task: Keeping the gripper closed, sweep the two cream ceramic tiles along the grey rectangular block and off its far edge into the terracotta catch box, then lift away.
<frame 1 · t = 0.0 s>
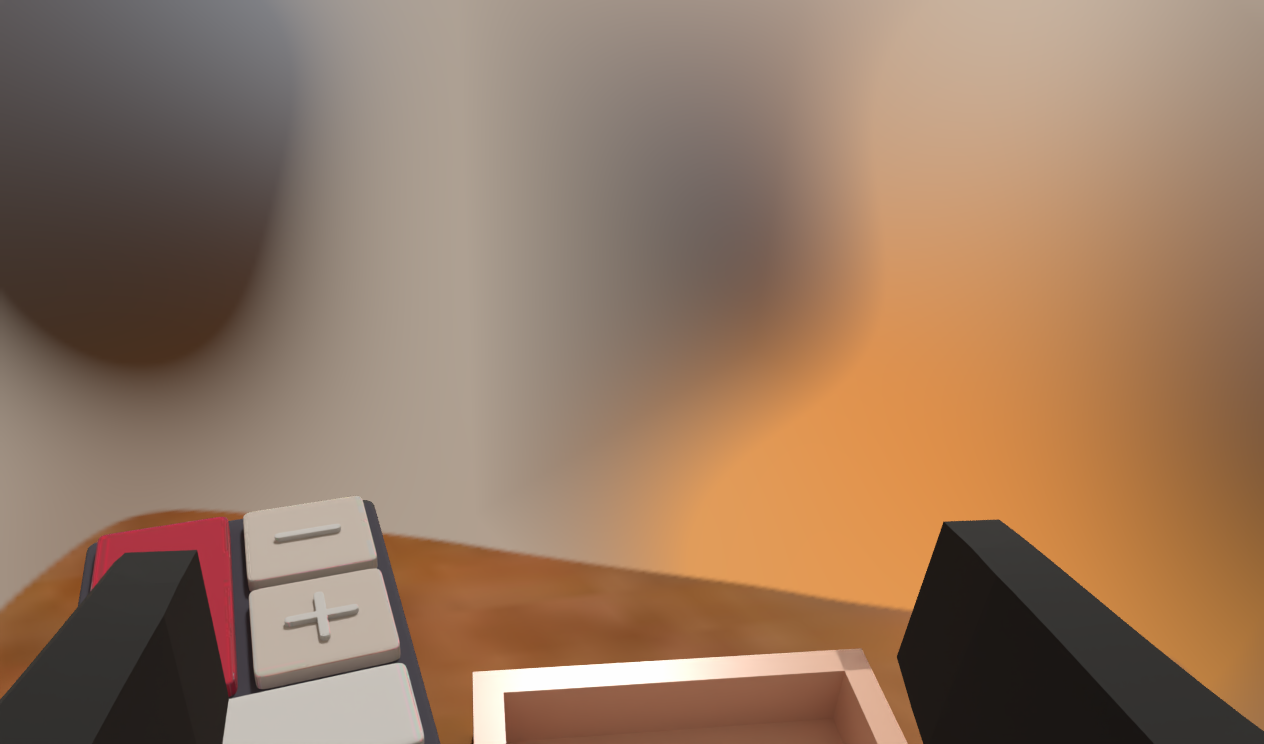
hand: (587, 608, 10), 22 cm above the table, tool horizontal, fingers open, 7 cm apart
calculator: (255, 709, 36), on the table
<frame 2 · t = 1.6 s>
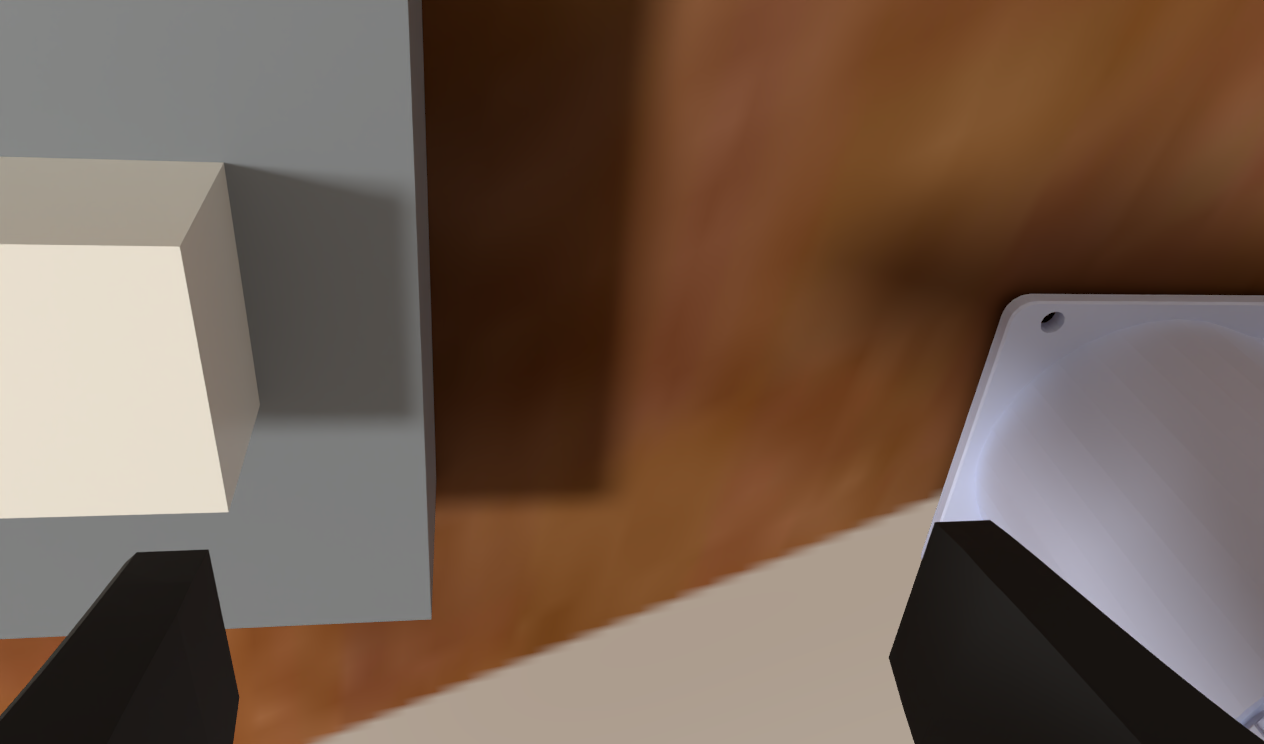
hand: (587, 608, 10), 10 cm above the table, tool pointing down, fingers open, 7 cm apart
tile a: (95, 292, 14), point 4 cm above the table, touching grey rectangular block
grey rectangular block: (94, 178, 17), on the table
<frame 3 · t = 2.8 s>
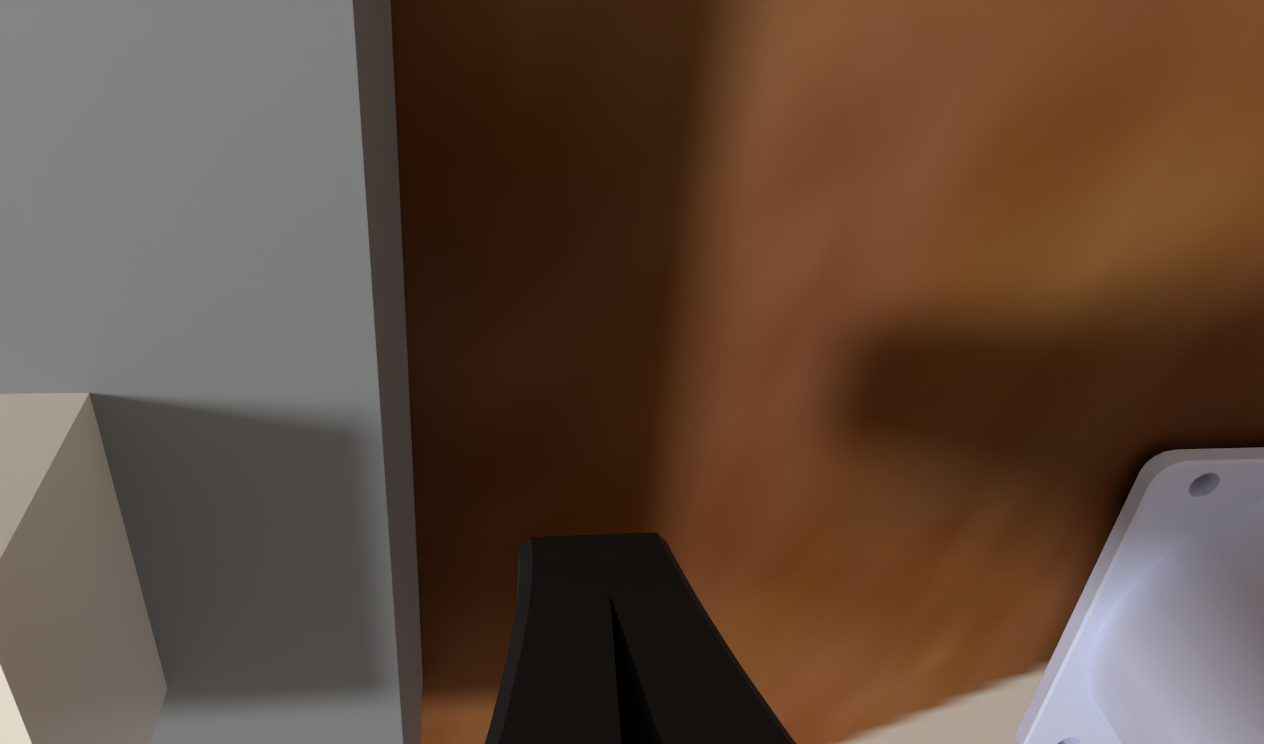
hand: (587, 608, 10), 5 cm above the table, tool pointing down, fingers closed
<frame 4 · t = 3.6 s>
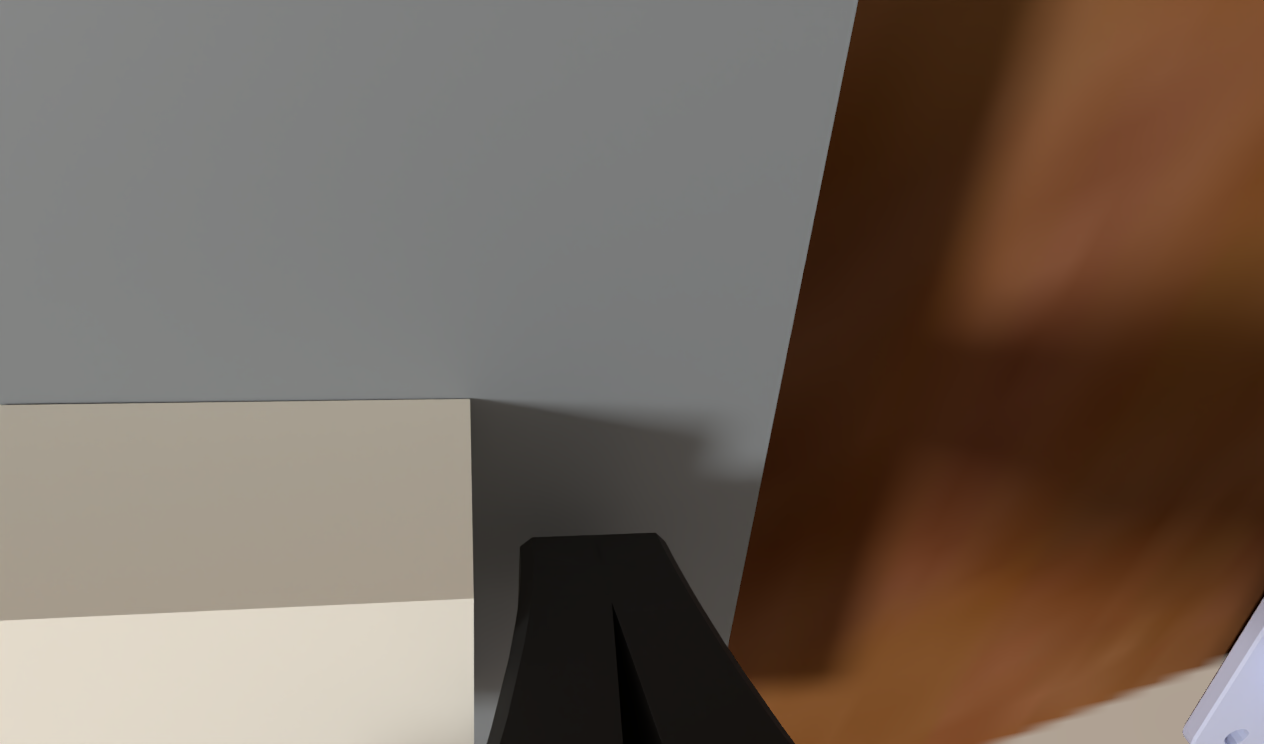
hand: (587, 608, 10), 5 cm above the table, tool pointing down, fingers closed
tile a: (270, 563, 10), point 4 cm above the table, touching gripper, tile b
grey rectangular block: (266, 349, 13), on the table
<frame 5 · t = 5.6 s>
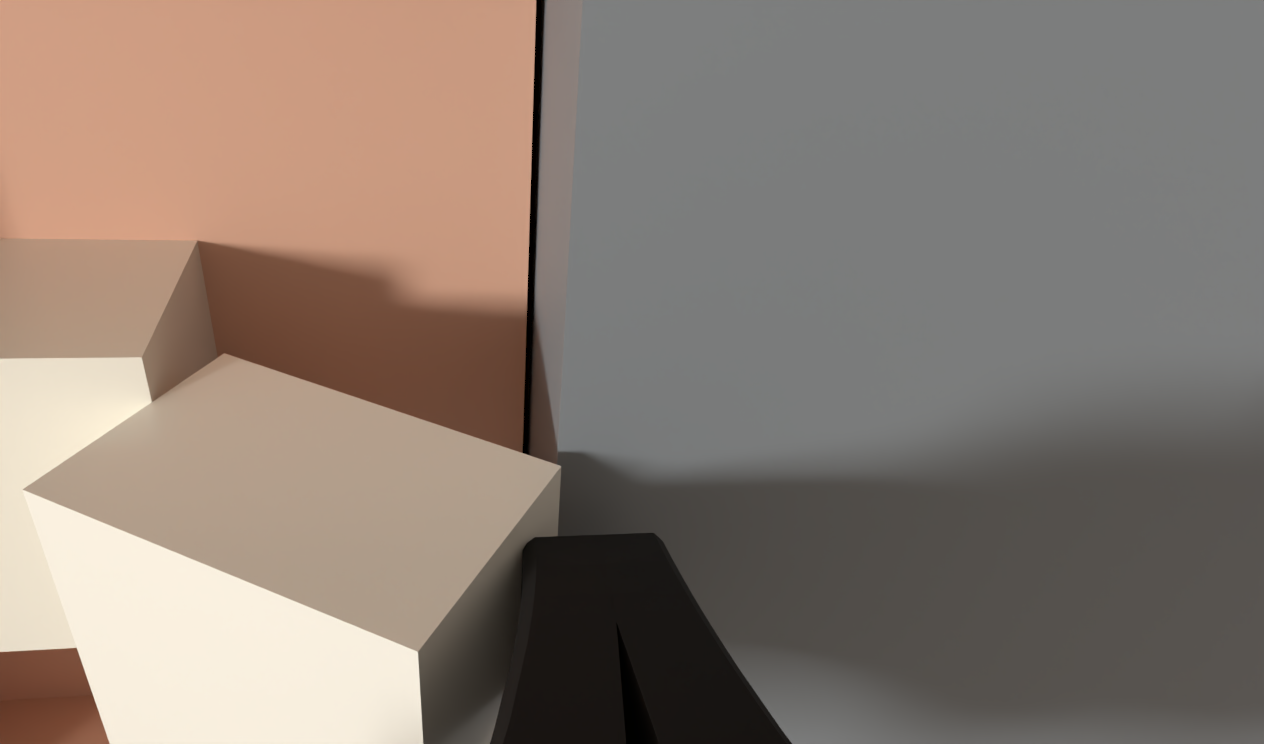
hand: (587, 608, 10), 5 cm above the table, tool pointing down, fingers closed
tile a: (393, 549, 11), point 3 cm above the table, tilted 31°, touching gripper, tile b
catch box: (169, 349, 13), on the table
grey rectangular block: (912, 345, 15), on the table
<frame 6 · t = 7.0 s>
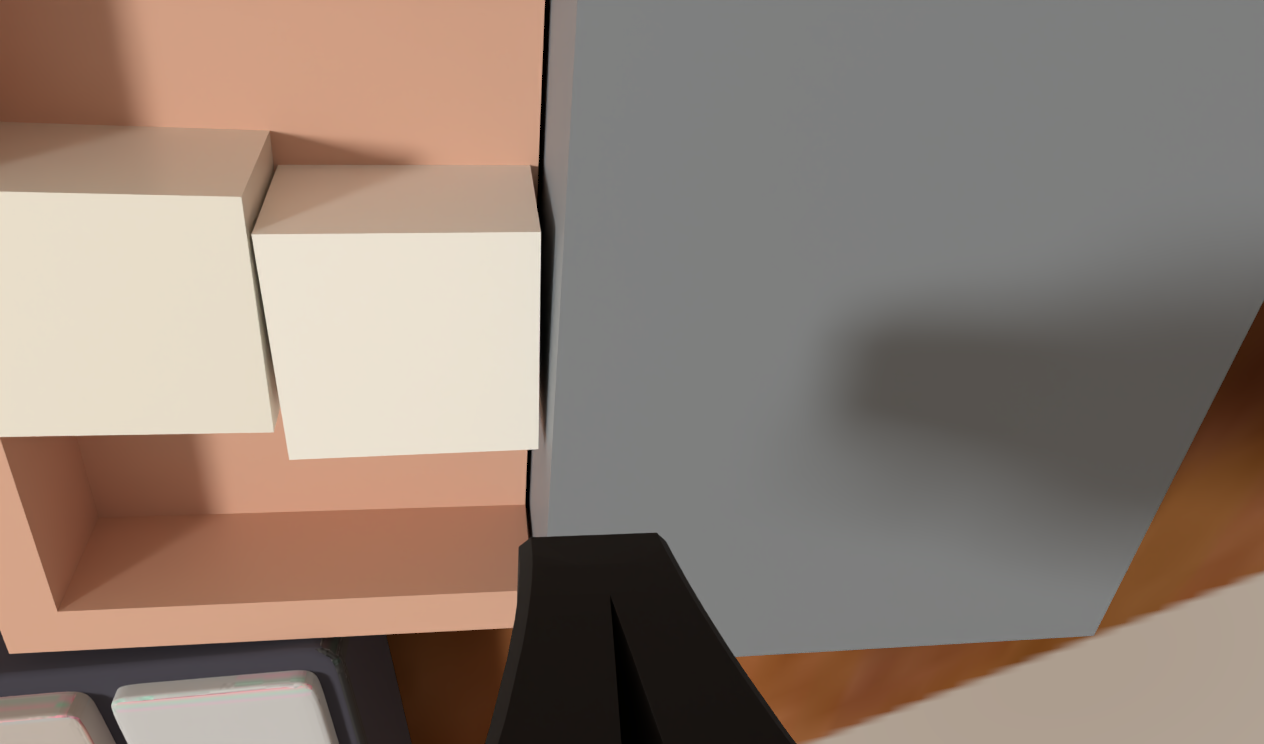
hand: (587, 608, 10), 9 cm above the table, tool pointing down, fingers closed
tile a: (414, 273, 17), point 1 cm above the table, touching catch box
tile b: (111, 323, 14), point 3 cm above the table, tilted 180°, touching catch box
catch box: (262, 223, 17), on the table
calculator: (79, 712, 24), on the table
grey rectangular block: (838, 233, 19), on the table
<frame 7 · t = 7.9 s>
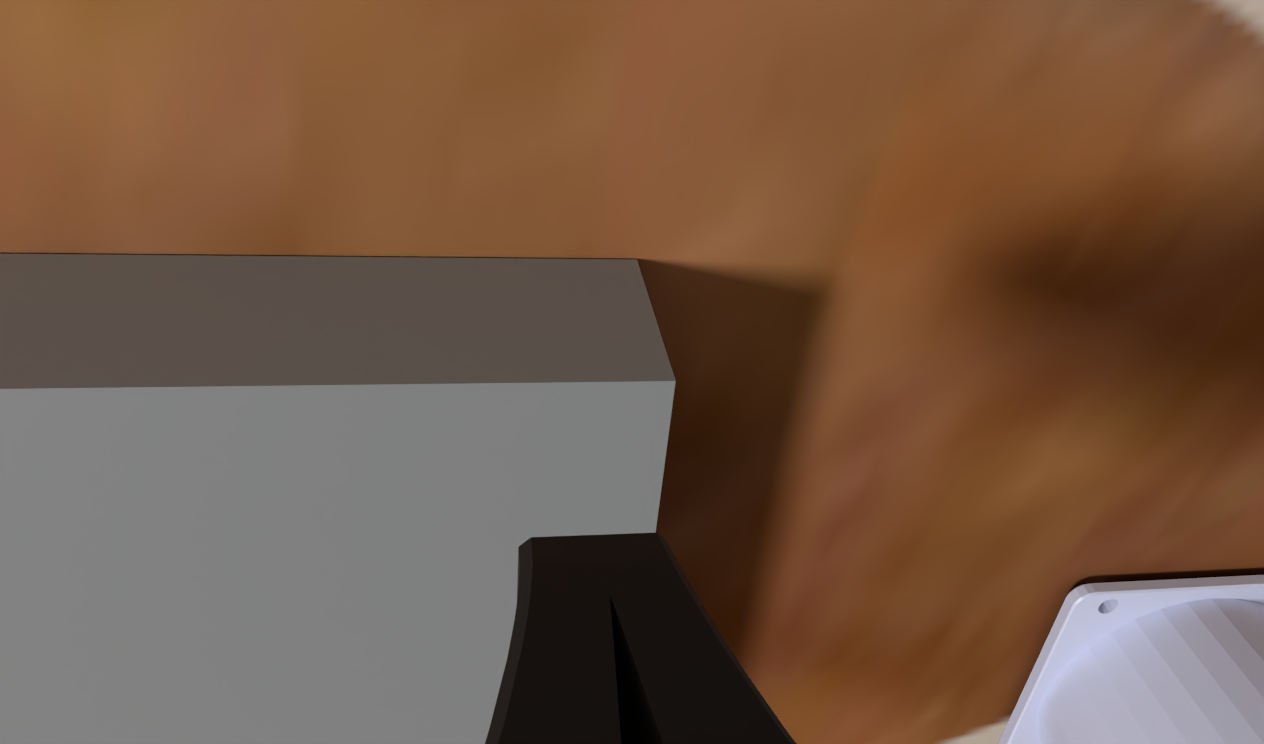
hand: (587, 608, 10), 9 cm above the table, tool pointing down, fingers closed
grey rectangular block: (349, 547, 21), on the table
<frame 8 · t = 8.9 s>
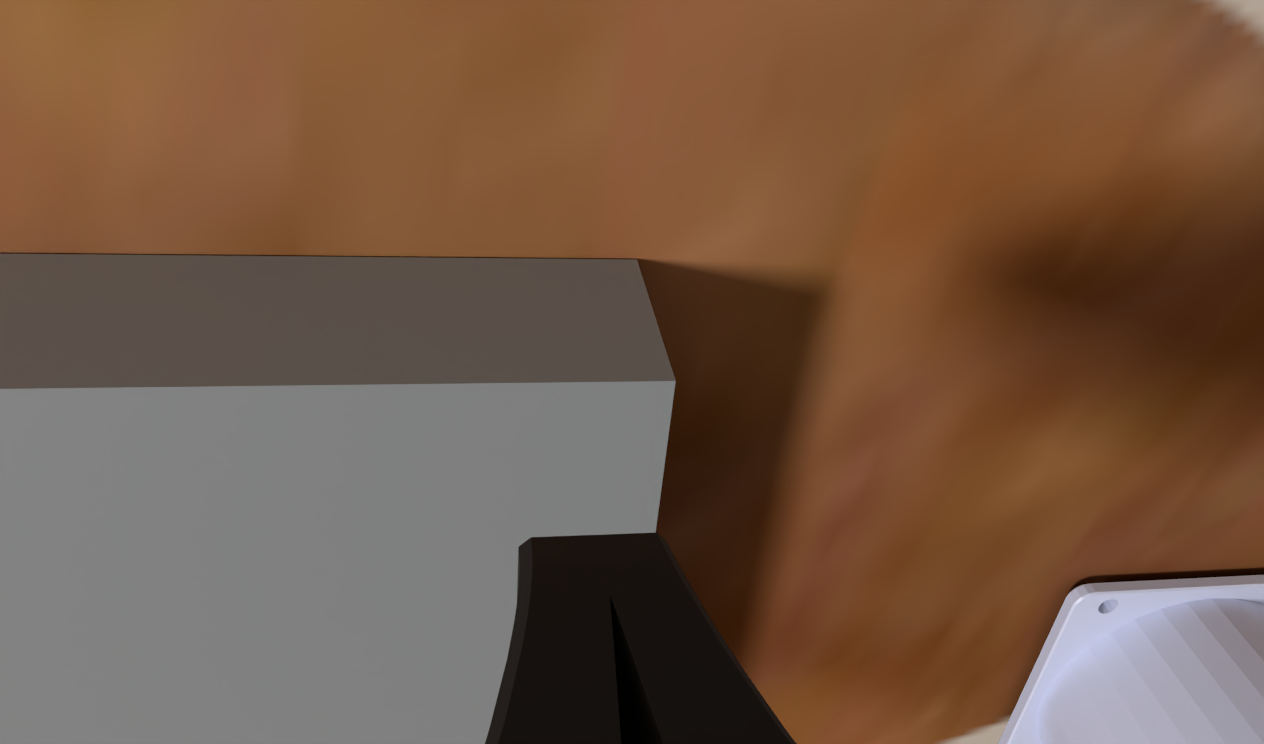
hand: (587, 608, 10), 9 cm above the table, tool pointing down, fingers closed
grey rectangular block: (349, 547, 21), on the table
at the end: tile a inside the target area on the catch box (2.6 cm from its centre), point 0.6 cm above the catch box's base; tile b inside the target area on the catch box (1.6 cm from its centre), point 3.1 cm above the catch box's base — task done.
